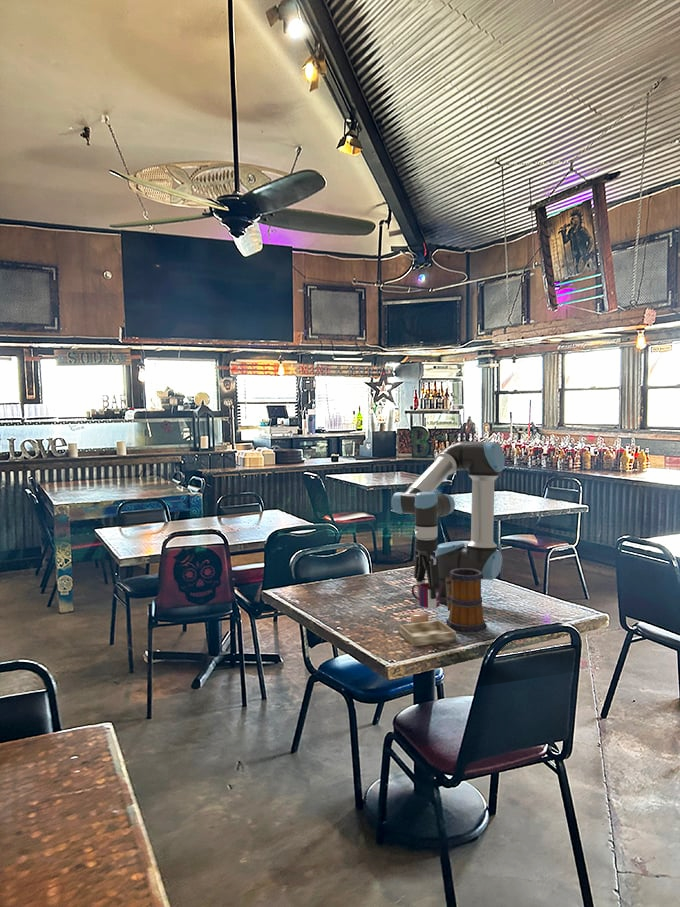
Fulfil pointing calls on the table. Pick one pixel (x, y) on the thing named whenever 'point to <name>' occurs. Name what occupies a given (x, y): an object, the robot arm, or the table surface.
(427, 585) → the cup
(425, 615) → the tan rounded block
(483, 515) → the robot arm
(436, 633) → the wooden tray
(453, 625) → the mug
